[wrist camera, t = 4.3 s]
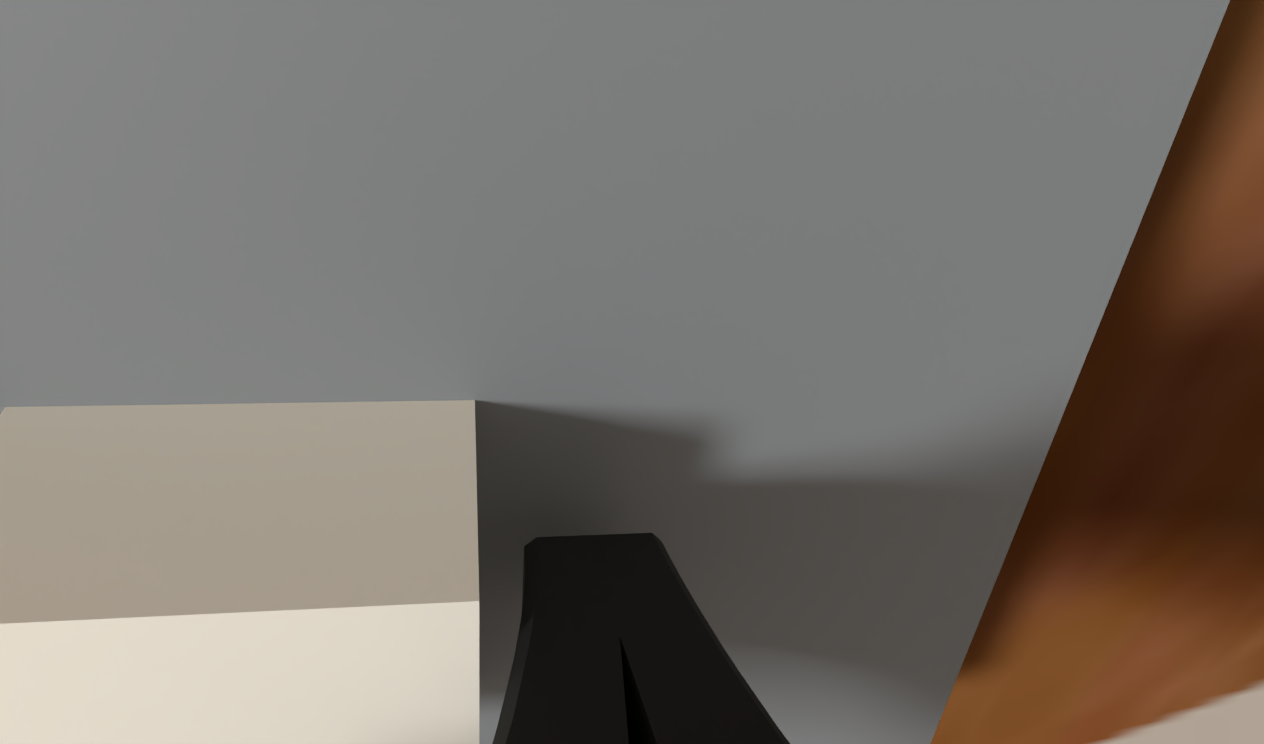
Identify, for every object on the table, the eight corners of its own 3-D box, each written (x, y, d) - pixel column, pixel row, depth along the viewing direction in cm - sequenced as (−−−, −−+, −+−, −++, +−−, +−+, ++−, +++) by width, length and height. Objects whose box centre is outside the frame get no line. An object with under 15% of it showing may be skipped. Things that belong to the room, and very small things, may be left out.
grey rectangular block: (1037, -201, 11) (1292, -156, 7) (803, 662, 18) (878, 871, 15) (-124, -310, 9) (-465, -314, 6) (157, 703, 17) (84, 951, 13)
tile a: (475, 399, 9) (478, 600, 7) (475, 682, 11) (479, 898, 9) (4, 405, 9) (-139, 629, 6) (102, 705, 11) (18, 942, 9)
